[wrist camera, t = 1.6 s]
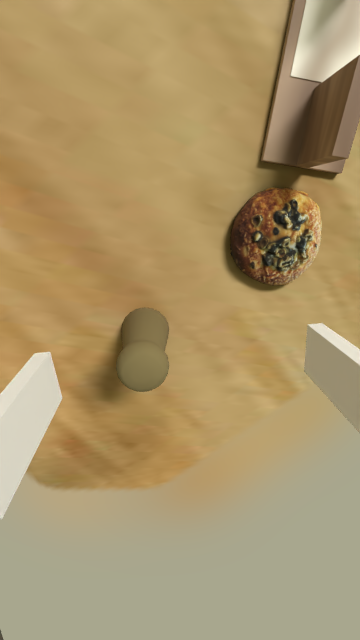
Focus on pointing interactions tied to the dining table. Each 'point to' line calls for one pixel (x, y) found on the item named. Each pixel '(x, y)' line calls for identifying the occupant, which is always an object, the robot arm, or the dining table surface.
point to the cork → (143, 350)
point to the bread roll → (276, 235)
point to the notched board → (317, 87)
